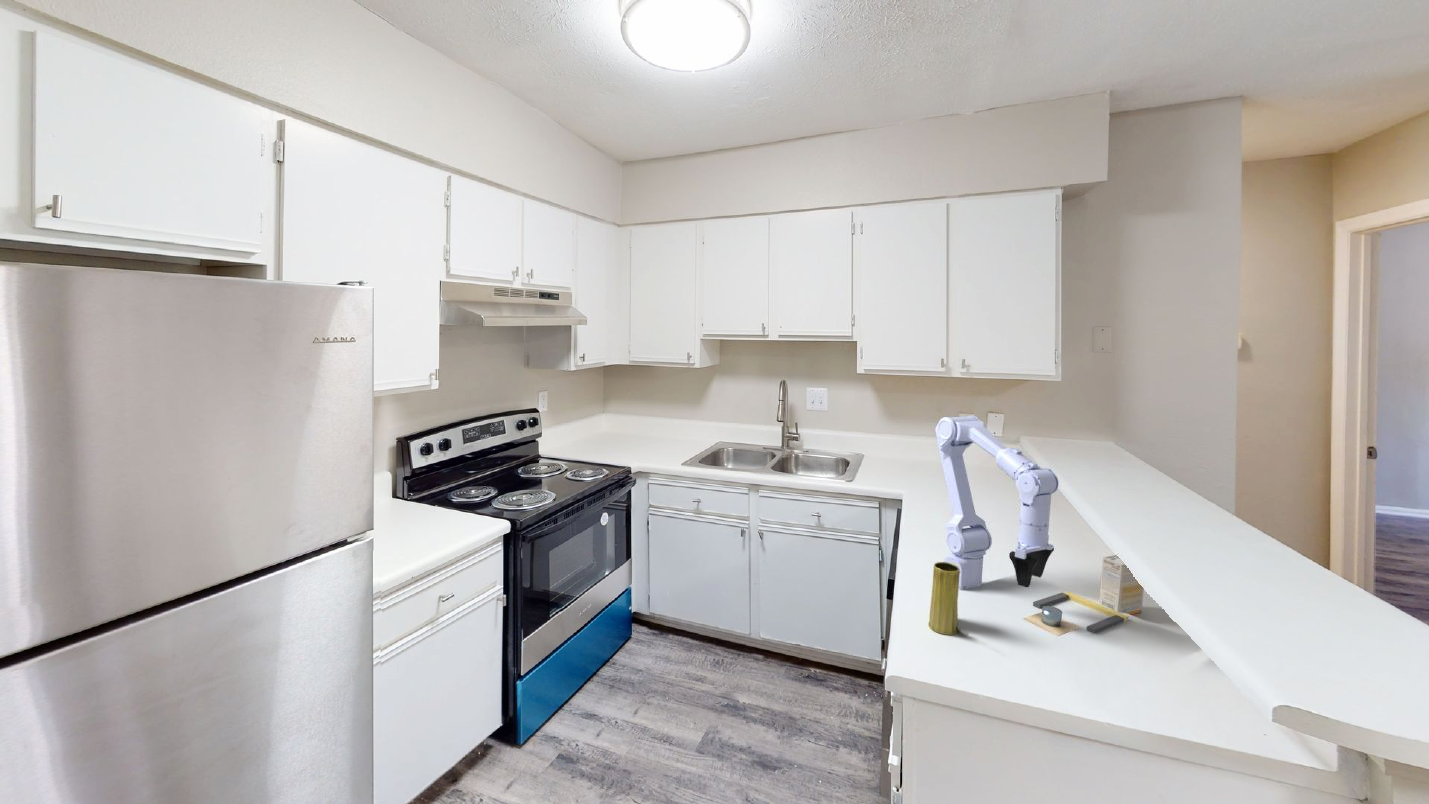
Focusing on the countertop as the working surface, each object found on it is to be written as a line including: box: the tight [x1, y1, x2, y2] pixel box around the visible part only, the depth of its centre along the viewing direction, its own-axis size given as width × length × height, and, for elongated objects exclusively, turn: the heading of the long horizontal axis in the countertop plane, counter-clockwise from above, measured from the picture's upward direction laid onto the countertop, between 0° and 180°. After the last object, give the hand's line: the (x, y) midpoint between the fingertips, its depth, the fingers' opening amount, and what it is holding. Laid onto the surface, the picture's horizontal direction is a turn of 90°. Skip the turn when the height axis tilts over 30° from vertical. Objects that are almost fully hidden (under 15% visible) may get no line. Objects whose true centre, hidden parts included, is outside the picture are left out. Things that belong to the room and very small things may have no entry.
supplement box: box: [1098, 554, 1145, 616], centre depth 132 cm, size 8×5×13 cm, turn 109°
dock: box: [1032, 590, 1129, 634], centre depth 129 cm, size 13×14×2 cm
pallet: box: [1022, 611, 1081, 637], centre depth 125 cm, size 8×8×2 cm
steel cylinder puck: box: [1041, 605, 1063, 627], centre depth 124 cm, size 4×4×3 cm
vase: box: [928, 561, 960, 636], centre depth 124 cm, size 6×6×14 cm
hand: (1029, 580), depth 127 cm, fingers open, 7 cm apart
